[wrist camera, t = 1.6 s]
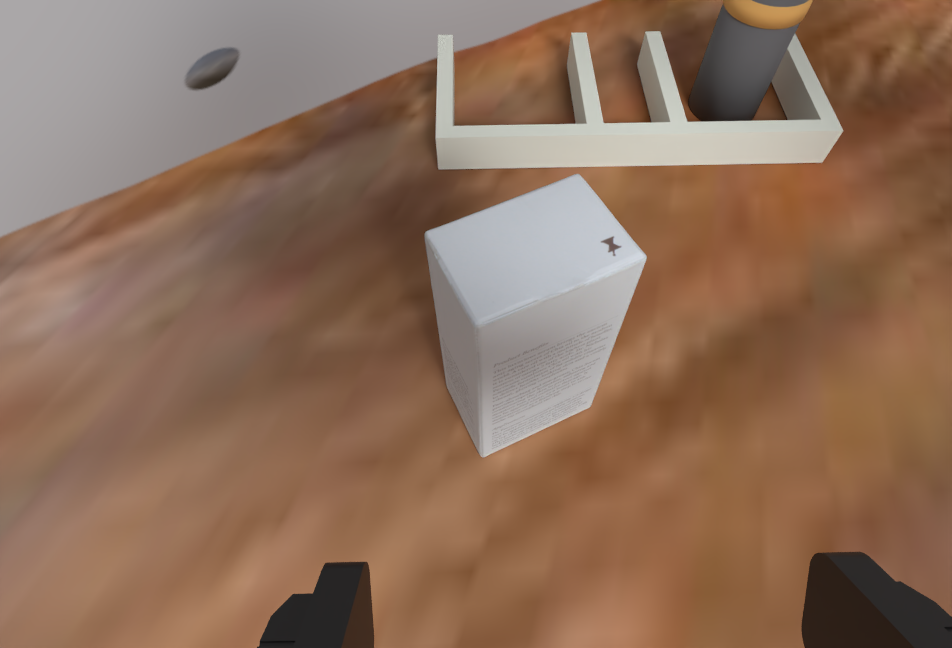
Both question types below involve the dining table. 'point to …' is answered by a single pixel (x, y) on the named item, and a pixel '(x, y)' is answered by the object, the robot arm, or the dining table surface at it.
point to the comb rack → (641, 142)
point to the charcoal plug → (744, 57)
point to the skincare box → (530, 307)
